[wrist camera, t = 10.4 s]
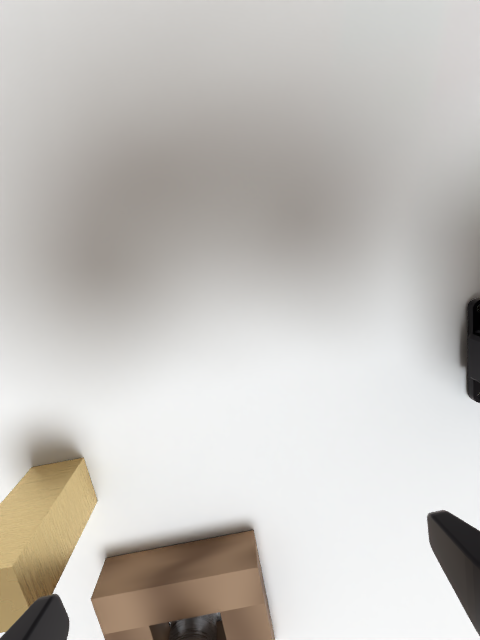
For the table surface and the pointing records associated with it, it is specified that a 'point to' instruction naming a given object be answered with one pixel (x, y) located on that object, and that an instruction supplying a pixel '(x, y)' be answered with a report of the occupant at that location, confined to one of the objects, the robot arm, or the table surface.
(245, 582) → the bore block
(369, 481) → the table surface
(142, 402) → the table surface
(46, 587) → the square bit
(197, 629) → the cylinder
